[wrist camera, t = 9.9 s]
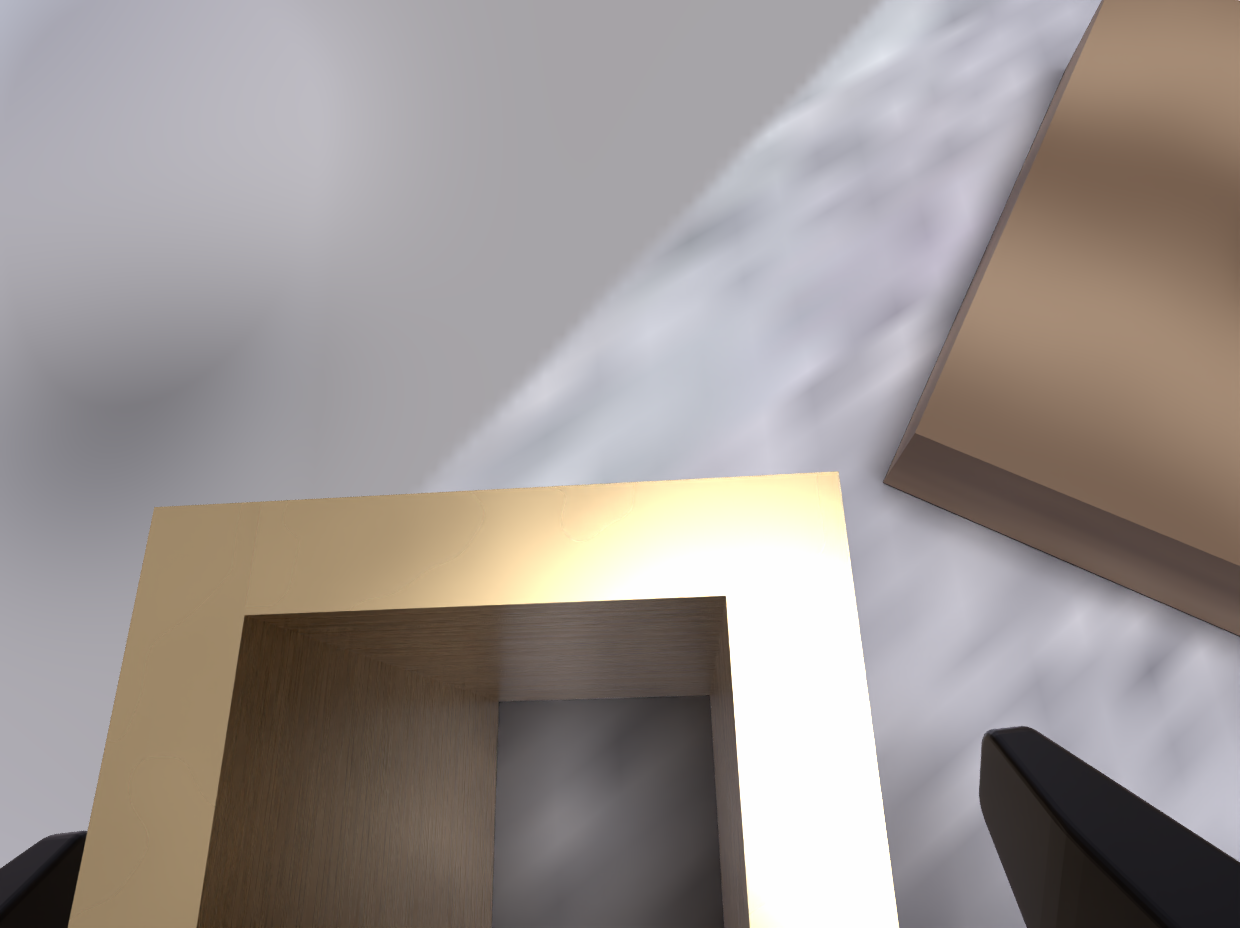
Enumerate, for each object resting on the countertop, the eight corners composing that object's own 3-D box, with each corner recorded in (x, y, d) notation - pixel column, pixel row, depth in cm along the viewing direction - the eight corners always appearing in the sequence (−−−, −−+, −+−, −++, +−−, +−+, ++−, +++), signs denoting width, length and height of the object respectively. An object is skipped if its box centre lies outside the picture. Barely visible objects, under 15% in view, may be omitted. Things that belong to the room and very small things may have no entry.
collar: (791, 1014, 13) (973, 1488, 4) (430, 1013, 13) (-38, 1440, 5) (759, 639, 15) (838, 471, 7) (450, 650, 15) (153, 507, 7)
